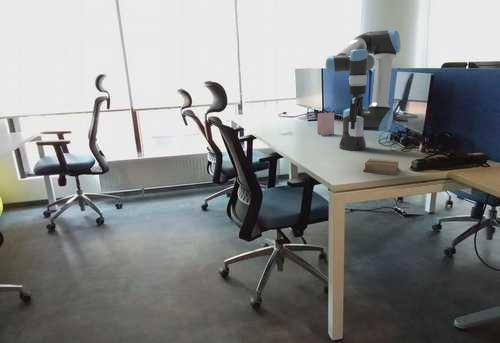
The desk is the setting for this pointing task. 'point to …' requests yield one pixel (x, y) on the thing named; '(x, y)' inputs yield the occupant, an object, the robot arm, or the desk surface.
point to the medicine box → (358, 126)
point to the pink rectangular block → (325, 123)
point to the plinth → (381, 166)
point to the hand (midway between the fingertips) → (355, 134)
